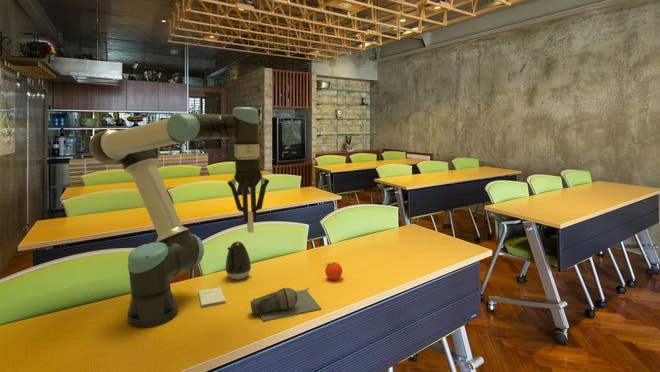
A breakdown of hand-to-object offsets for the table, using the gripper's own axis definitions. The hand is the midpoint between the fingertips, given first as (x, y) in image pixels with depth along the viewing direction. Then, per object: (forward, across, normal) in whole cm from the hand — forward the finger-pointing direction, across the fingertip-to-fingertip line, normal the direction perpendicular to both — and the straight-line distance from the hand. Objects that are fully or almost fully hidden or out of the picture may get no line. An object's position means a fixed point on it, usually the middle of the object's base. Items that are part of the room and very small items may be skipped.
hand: (250, 231), depth 119 cm
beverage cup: (+26, -1, 0) cm, 26 cm away
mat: (+28, +12, +2) cm, 31 cm away
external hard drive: (+29, -12, +18) cm, 36 cm away
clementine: (+29, +35, +16) cm, 48 cm away
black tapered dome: (+29, 0, +33) cm, 44 cm away
